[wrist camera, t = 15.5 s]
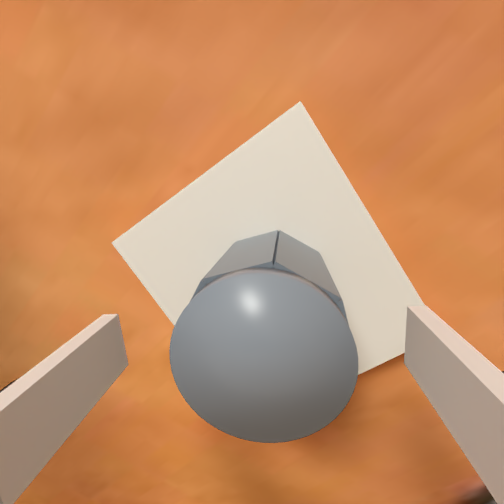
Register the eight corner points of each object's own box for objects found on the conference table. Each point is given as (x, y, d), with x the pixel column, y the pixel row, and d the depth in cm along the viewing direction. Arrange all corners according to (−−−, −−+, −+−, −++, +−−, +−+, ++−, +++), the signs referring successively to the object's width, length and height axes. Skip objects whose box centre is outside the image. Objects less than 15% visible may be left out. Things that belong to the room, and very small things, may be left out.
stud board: (122, 238, 22) (44, 265, 15) (299, 107, 19) (307, 59, 12) (252, 412, 25) (238, 506, 17) (431, 324, 21) (507, 397, 14)
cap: (291, 353, 21) (294, 470, 13) (201, 303, 21) (142, 387, 13) (348, 268, 19) (399, 338, 11) (249, 213, 19) (219, 238, 11)
